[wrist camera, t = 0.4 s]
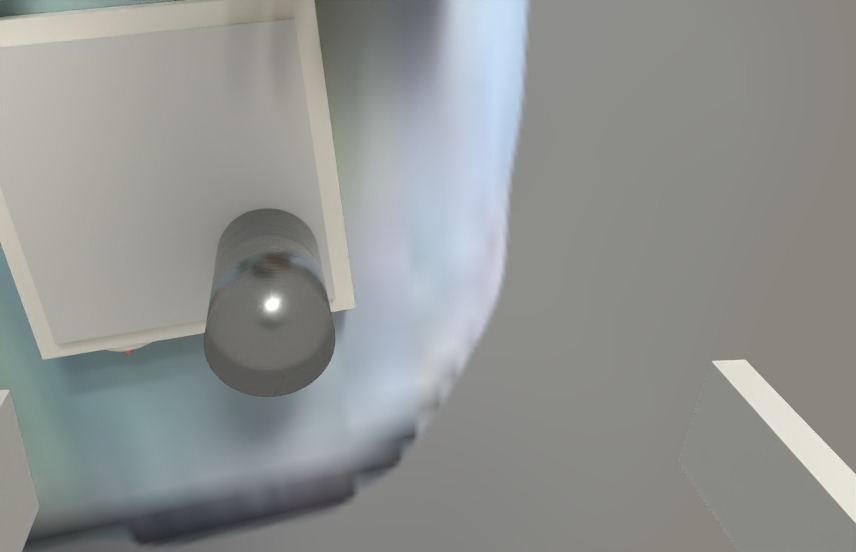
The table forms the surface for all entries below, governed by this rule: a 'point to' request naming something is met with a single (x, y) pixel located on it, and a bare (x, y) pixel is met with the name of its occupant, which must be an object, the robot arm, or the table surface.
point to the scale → (156, 160)
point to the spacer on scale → (268, 306)
